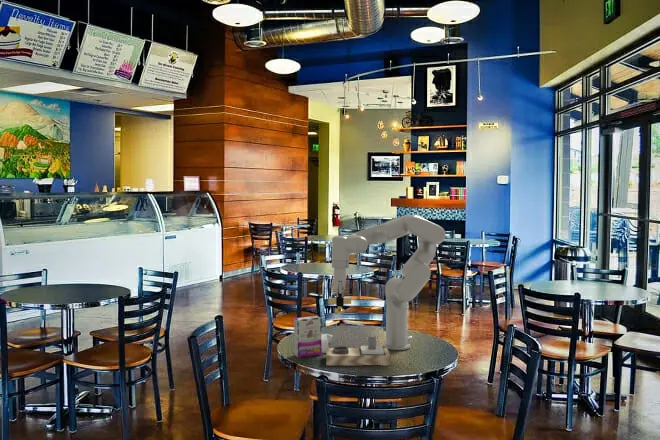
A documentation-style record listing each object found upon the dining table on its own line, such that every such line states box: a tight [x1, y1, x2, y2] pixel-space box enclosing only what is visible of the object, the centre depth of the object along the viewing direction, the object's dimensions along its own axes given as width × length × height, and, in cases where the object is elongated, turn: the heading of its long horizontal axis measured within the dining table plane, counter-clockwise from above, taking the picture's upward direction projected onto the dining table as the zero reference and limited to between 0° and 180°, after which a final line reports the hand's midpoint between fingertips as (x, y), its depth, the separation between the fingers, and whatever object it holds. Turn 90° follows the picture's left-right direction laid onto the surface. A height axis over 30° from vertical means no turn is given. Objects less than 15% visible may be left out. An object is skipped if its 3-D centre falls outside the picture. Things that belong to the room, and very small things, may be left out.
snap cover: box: [360, 335, 384, 354], centre depth 246 cm, size 9×9×6 cm
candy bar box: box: [293, 315, 323, 359], centre depth 255 cm, size 11×5×16 cm, turn 115°
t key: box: [327, 297, 352, 314], centre depth 261 cm, size 10×4×6 cm, turn 91°
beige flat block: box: [325, 345, 391, 367], centre depth 246 cm, size 26×12×6 cm, turn 91°
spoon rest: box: [321, 333, 333, 354], centre depth 270 cm, size 24×12×7 cm, turn 8°
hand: (339, 305), depth 261 cm, fingers closed on t key, 2 cm apart
